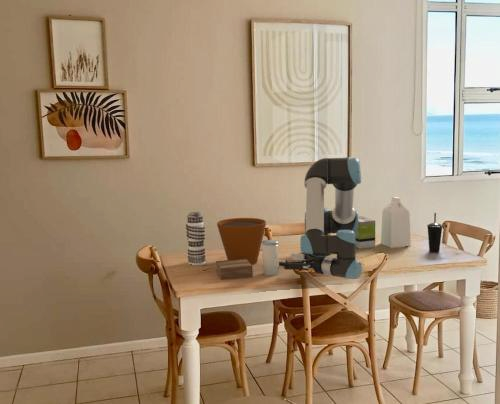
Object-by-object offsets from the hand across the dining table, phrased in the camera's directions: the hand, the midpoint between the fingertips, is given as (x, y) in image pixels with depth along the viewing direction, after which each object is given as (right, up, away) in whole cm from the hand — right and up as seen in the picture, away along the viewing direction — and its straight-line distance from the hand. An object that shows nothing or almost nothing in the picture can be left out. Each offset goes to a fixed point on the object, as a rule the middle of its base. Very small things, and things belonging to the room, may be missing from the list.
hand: (283, 258), depth 247 cm
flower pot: (-18, -5, +28) cm, 34 cm away
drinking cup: (+80, -1, +39) cm, 89 cm away
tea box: (+46, +1, +59) cm, 75 cm away
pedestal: (-22, -8, +6) cm, 24 cm away
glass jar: (-5, -7, +6) cm, 11 cm away
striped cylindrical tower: (-41, -5, +29) cm, 50 cm away
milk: (+64, +2, +58) cm, 86 cm away
